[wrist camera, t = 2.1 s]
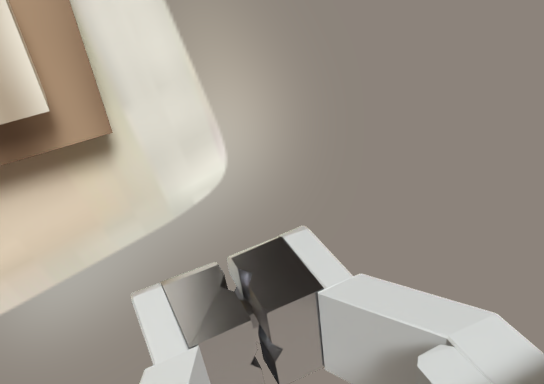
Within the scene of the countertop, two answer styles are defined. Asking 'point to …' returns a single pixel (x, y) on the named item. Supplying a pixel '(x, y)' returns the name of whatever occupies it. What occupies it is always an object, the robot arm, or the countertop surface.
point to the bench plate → (55, 84)
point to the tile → (17, 73)
